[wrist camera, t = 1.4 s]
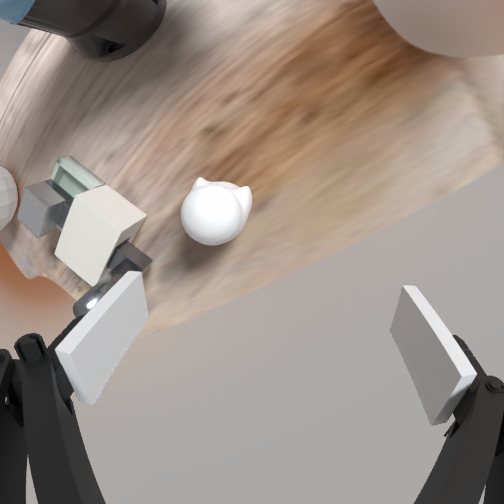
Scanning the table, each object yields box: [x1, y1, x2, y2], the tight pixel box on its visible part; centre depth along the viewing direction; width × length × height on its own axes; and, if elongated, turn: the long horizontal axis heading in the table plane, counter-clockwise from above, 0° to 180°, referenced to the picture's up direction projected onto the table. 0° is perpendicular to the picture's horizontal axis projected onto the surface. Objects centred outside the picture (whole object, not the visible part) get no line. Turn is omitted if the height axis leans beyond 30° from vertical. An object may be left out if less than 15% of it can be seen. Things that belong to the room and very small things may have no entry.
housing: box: [55, 185, 147, 287], centre depth 37 cm, size 8×10×8 cm
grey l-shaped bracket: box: [44, 179, 153, 318], centre depth 31 cm, size 20×3×14 cm, turn 53°
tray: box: [50, 156, 105, 232], centre depth 38 cm, size 8×10×3 cm
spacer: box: [17, 181, 66, 238], centre depth 32 cm, size 5×5×4 cm
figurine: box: [181, 177, 252, 245], centre depth 33 cm, size 7×8×12 cm
